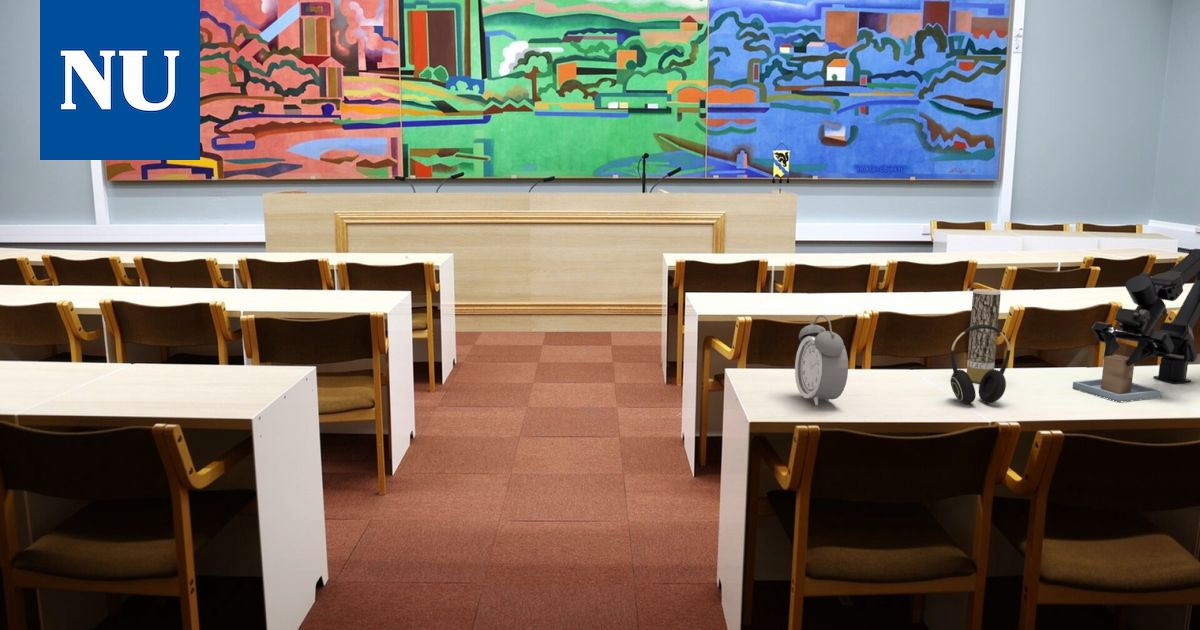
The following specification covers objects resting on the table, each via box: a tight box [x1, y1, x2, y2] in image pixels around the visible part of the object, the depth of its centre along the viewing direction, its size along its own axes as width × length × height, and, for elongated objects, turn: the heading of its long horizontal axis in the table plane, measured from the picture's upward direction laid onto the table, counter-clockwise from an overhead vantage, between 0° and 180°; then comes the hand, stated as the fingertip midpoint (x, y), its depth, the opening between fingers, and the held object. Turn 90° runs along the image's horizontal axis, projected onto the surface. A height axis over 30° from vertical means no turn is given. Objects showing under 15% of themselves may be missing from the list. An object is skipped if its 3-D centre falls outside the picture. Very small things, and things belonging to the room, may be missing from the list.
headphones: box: [950, 324, 1011, 404], centre depth 216 cm, size 9×15×20 cm, turn 91°
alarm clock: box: [794, 314, 849, 406], centre depth 217 cm, size 16×9×22 cm, turn 9°
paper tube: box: [966, 288, 1002, 384], centre depth 237 cm, size 7×7×25 cm
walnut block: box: [1101, 354, 1135, 394], centre depth 226 cm, size 5×5×9 cm
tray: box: [1072, 378, 1162, 403], centre depth 227 cm, size 14×14×2 cm
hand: (1116, 362), depth 225 cm, fingers open, 6 cm apart
